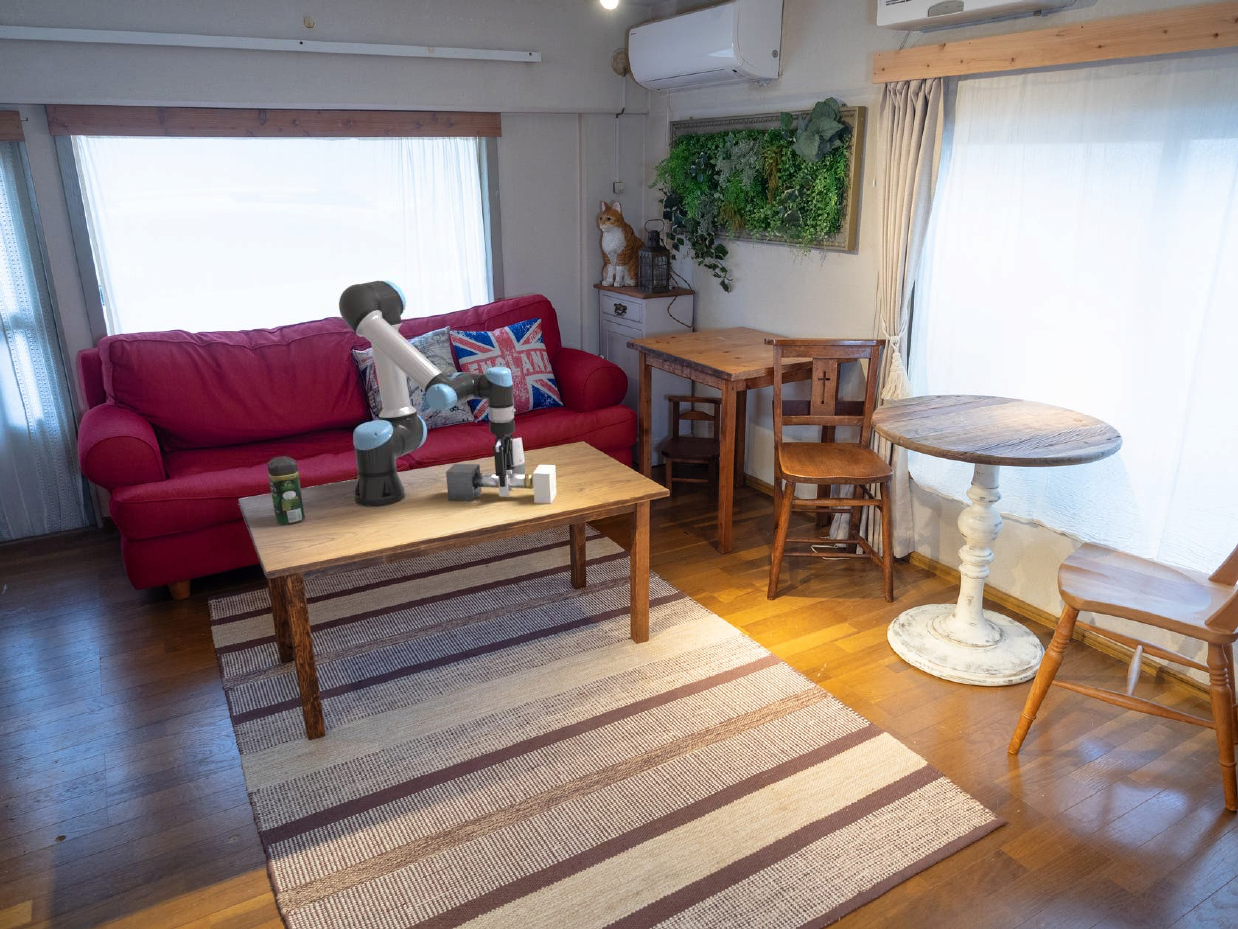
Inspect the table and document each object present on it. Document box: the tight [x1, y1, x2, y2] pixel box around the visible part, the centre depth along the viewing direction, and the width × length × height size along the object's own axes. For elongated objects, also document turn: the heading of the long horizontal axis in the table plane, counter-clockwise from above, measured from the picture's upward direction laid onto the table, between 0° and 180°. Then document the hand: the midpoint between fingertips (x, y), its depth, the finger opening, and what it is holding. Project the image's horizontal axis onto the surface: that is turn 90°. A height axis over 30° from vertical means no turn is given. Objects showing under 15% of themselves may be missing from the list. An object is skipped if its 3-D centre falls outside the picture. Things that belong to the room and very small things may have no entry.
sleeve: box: [445, 463, 482, 502], centre depth 264 cm, size 8×8×9 cm
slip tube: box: [473, 472, 534, 490], centre depth 263 cm, size 26×4×4 cm, turn 82°
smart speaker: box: [512, 437, 526, 474], centre depth 279 cm, size 10×9×14 cm
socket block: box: [532, 464, 557, 505], centre depth 261 cm, size 5×8×10 cm, turn 172°
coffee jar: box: [267, 455, 306, 525], centre depth 246 cm, size 10×8×19 cm
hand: (506, 493), depth 263 cm, fingers closed on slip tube, 4 cm apart
